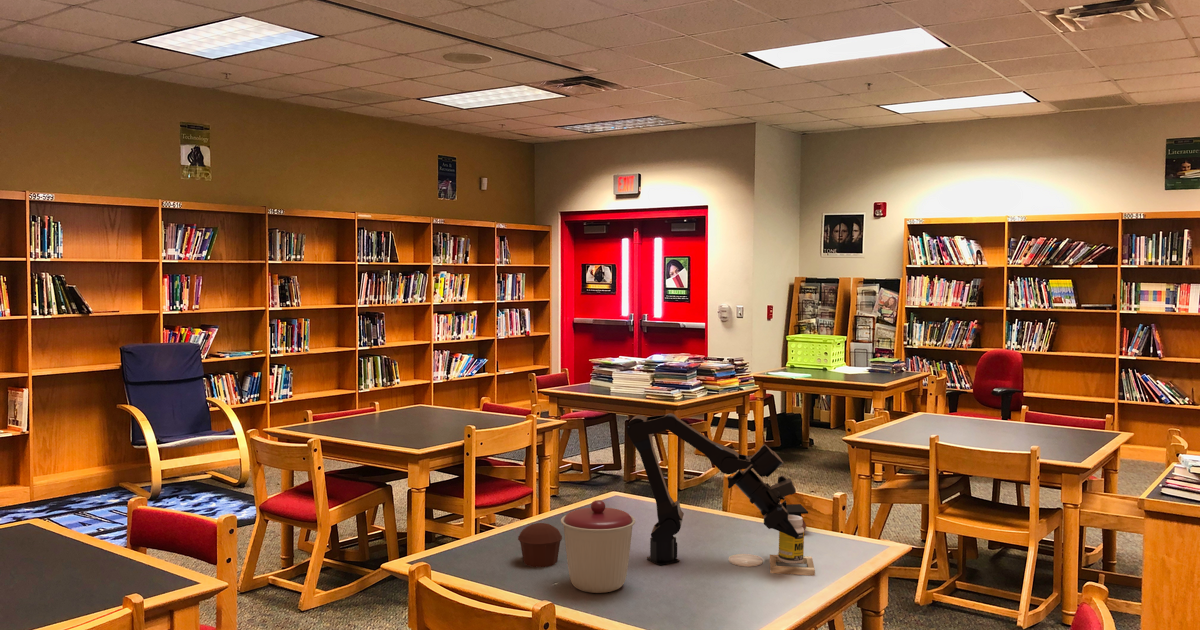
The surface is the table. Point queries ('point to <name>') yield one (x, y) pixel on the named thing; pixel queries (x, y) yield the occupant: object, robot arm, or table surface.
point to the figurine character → (797, 511)
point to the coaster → (745, 560)
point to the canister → (598, 547)
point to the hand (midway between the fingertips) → (797, 533)
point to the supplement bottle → (792, 542)
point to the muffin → (540, 545)
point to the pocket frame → (792, 570)
